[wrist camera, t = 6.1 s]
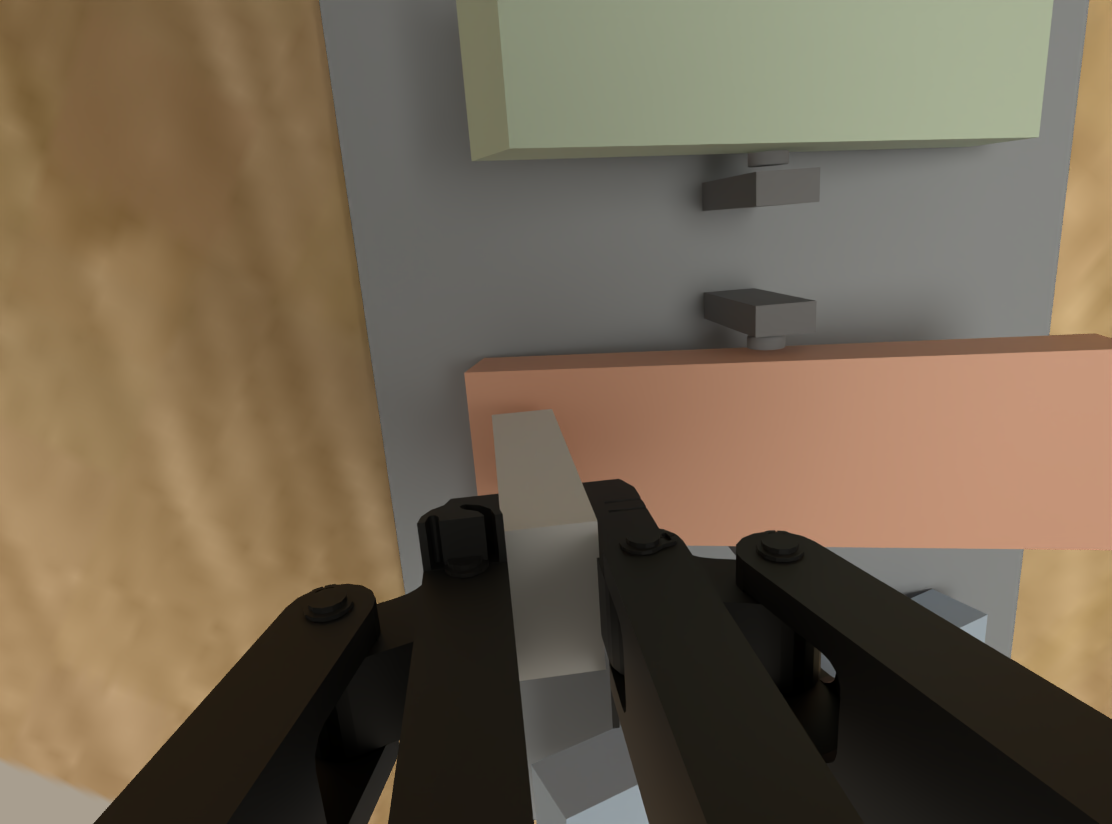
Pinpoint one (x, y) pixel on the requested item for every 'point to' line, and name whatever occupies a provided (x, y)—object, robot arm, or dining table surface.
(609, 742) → the rocker blue
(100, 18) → the dining table surface
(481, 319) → the board
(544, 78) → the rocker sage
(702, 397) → the rocker terracotta
